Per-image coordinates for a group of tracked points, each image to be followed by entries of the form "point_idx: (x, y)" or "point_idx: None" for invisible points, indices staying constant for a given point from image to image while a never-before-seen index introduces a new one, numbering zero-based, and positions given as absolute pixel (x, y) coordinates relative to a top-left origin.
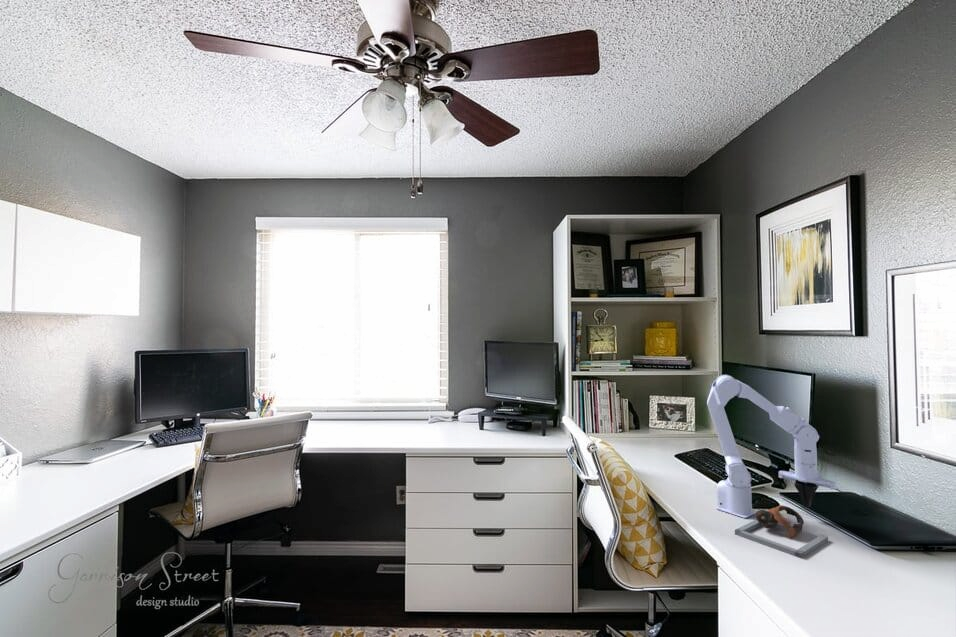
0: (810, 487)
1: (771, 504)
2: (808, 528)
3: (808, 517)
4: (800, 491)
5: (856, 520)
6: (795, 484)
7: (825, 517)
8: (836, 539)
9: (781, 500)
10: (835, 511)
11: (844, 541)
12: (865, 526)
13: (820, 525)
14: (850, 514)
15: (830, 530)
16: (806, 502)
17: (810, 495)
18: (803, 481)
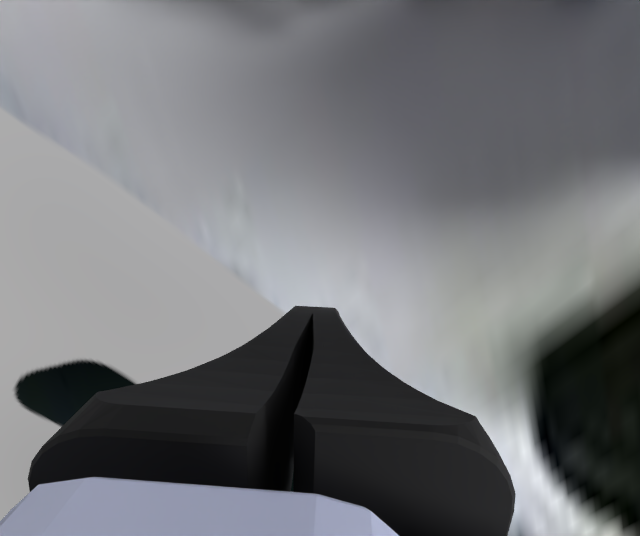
0: (93, 424)
1: (580, 408)
2: (267, 112)
3: None
4: (358, 377)
5: None
6: (474, 441)
7: None
8: (60, 37)
9: (532, 510)
10: None
11: (14, 43)
12: (68, 413)
13: (231, 244)
14: None
15: (156, 197)
16: (301, 320)
17: (218, 359)
18: (93, 503)
